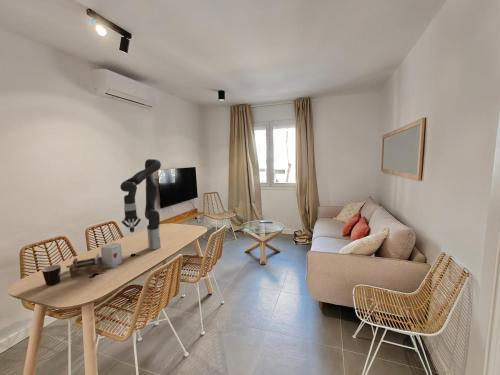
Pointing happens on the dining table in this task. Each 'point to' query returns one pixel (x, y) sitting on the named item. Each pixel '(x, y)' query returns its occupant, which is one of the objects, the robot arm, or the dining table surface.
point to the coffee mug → (52, 274)
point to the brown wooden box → (85, 267)
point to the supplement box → (111, 255)
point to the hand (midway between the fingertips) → (132, 232)
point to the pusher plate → (97, 261)
